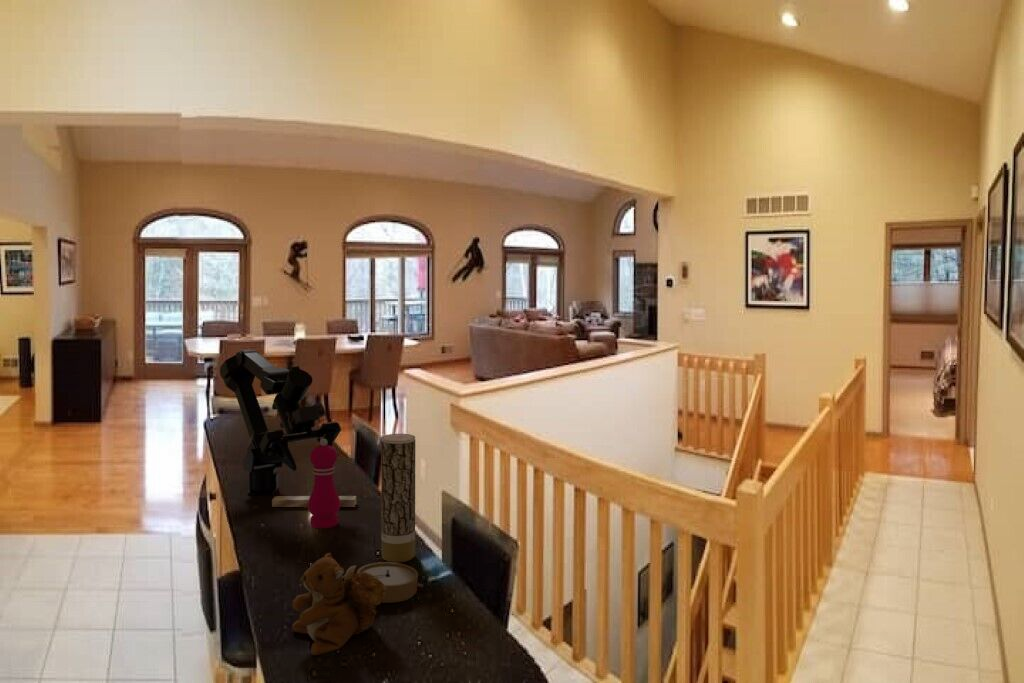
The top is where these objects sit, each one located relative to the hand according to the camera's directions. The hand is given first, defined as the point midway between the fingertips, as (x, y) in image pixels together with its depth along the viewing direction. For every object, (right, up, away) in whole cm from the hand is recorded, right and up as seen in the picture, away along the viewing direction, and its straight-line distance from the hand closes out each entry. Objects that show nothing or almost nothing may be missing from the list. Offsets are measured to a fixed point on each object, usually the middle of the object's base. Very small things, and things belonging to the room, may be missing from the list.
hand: (313, 466), depth 167 cm
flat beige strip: (-3, -12, +10) cm, 16 cm away
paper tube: (+23, -15, -21) cm, 35 cm away
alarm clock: (+22, -17, -37) cm, 46 cm away
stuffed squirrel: (+19, -18, -52) cm, 59 cm away
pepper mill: (+3, -13, -2) cm, 14 cm away
